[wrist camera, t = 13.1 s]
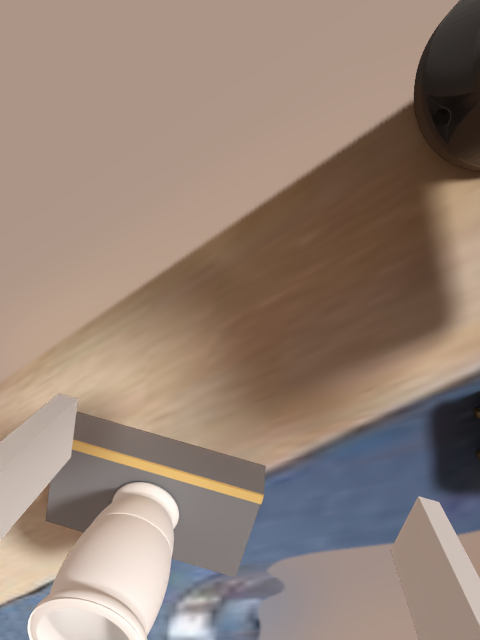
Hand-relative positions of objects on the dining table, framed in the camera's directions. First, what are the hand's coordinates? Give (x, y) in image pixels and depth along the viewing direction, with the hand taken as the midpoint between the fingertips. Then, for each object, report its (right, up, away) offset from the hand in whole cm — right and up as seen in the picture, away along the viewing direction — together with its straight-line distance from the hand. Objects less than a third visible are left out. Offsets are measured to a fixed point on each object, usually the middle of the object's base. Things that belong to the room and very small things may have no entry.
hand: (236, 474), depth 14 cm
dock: (-11, -16, +36) cm, 41 cm away
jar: (-12, -18, +32) cm, 38 cm away
